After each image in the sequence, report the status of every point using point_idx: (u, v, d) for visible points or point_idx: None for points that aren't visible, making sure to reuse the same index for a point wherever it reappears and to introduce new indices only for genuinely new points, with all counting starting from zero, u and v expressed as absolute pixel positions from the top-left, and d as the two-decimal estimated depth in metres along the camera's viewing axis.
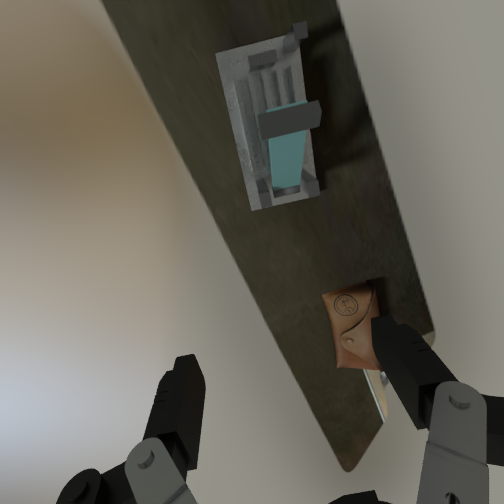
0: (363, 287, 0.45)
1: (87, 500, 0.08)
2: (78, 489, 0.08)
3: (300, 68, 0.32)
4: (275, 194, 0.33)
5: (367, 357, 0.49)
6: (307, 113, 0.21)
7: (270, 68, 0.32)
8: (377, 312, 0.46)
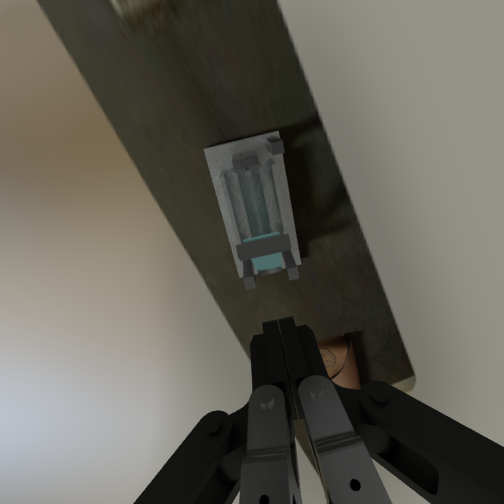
0: (340, 341, 0.49)
1: (224, 435, 0.09)
2: (212, 426, 0.09)
3: (282, 160, 0.35)
4: (259, 274, 0.36)
5: None
6: (278, 246, 0.24)
7: None
8: (354, 364, 0.49)
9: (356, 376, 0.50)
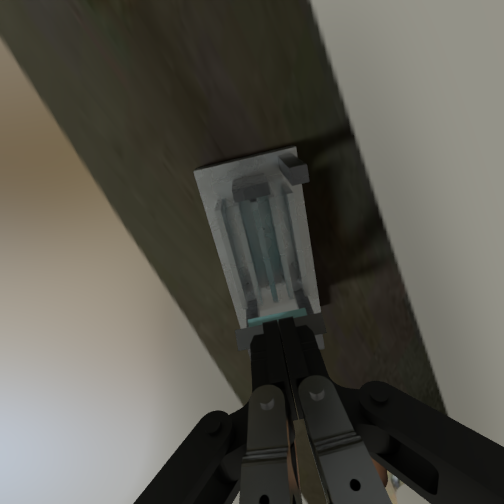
0: None
1: (224, 435, 0.09)
2: (212, 427, 0.09)
3: (299, 185, 0.26)
4: None
5: None
6: None
7: None
8: None
9: None
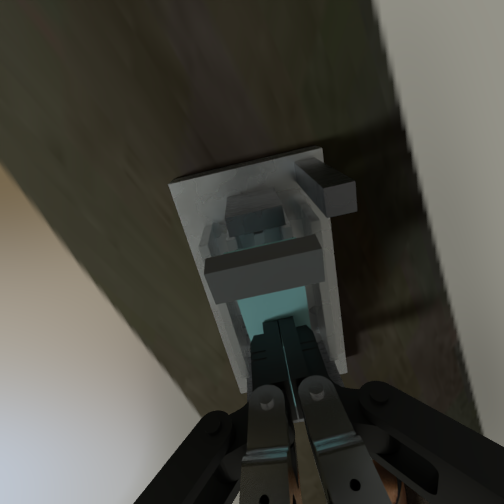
0: (384, 472, 0.31)
1: (224, 435, 0.09)
2: (212, 426, 0.09)
3: None
4: None
5: None
6: (294, 252, 0.11)
7: None
8: None
9: None
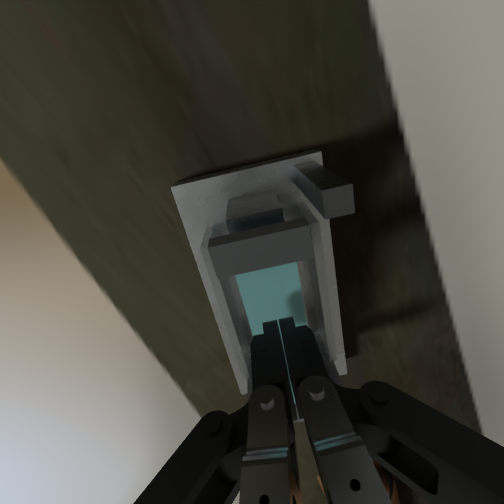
0: None
1: (224, 435, 0.09)
2: (212, 427, 0.09)
3: None
4: None
5: None
6: (285, 229, 0.12)
7: None
8: None
9: None
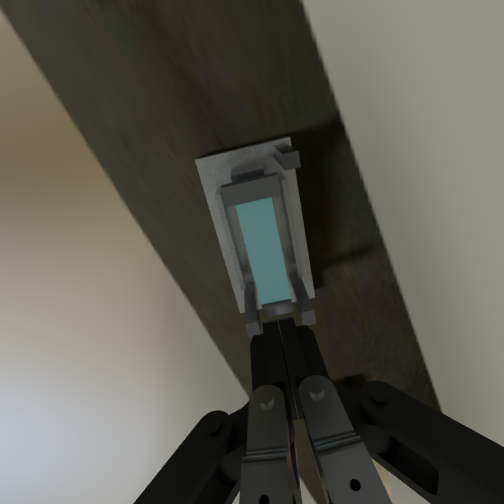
0: None
1: (224, 435, 0.09)
2: (212, 427, 0.09)
3: (293, 173, 0.28)
4: (263, 310, 0.29)
5: None
6: (264, 177, 0.22)
7: None
8: None
9: None
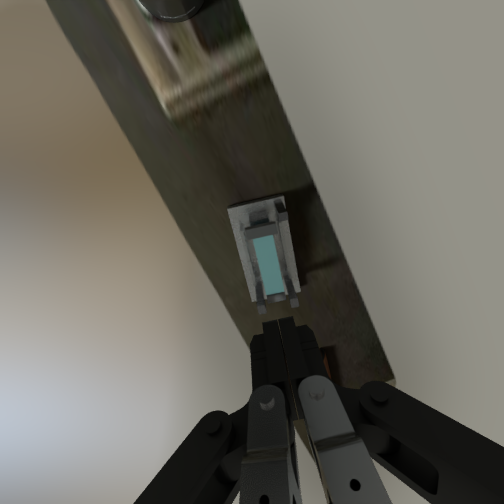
0: None
1: (224, 435, 0.09)
2: (212, 426, 0.09)
3: None
4: (268, 298, 0.47)
5: None
6: (268, 224, 0.41)
7: None
8: None
9: None
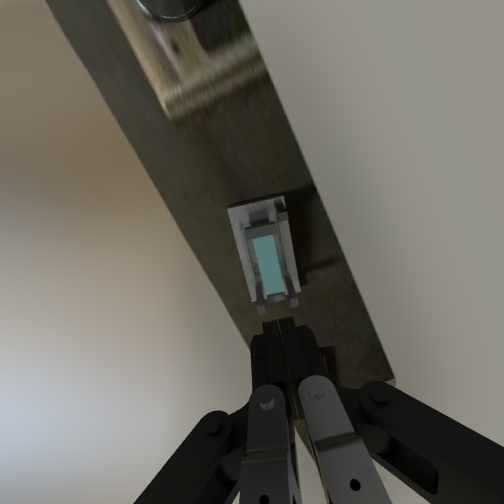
0: None
1: (224, 435, 0.09)
2: (212, 426, 0.09)
3: None
4: (268, 298, 0.47)
5: None
6: (268, 224, 0.41)
7: None
8: None
9: None
